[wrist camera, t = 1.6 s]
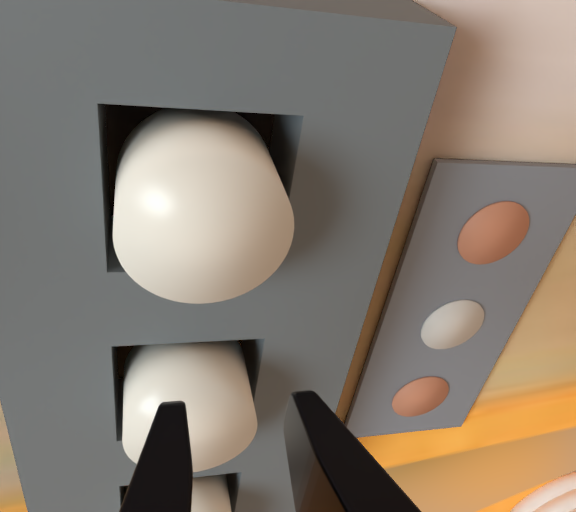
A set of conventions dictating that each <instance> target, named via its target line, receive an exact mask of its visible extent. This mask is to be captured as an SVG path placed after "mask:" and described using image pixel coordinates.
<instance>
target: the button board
mask: <svg viewBox="0 0 576 512" xmlns="http://www.w3.org/2000/svg"><path fill="white" fill-rule="evenodd" d="M456 28H457V27H456V26H454V25H452V24H451V23H449V22H447V21H446V20H444V19H442V18H441V17H439V16H437V15H436V14H434V13H432V12H431V11H429V10H427V9H426V8H424V7H422V6H421V5H419V4H417V3H416V2H414V1H412V0H0V401H1V405H2V409H3V413H4V417H5V421H6V425H7V429H8V433H9V437H10V441H11V445H12V449H13V454H14V458H15V462H16V466H17V470H18V474H19V478H20V482H21V486H22V490H23V494H24V498H25V502H26V506H27V510H28V512H119V510H120V508H121V505H122V502H123V500H124V497H125V494H126V492H127V489H128V486H126V485H129V484H130V481H131V478H132V476H133V473H134V470H135V468H136V465H137V464H136V463H135V462H133V461H132V460H131V459H130V458H129V457H128V456H127V454H126V453H125V451H124V448H123V443H122V432H123V386H124V379H119V377H118V356H117V346H131V345H151V344H170V343H189V342H208V341H227V340H242V347H241V348H242V351H243V355H244V359H245V364H246V369H247V374H248V379H249V383H250V388H251V393H252V398H253V403H254V407H255V412H256V417H257V431H256V434H255V436H254V438H253V440H252V441H251V443H250V444H249V445H248V447H247V448H246V449H245V450H244V451H242V452H241V453H240V454H239V455H237V456H236V457H234V458H233V459H231V460H229V461H228V462H225V463H223V464H221V465H219V466H216V467H214V468H210V469H207V470H203V471H199V472H193V478H194V477H203V476H211V475H220V474H226V477H227V484H228V491H229V498H230V505H231V512H296V511H295V505H294V499H293V492H292V485H291V479H290V472H289V465H288V459H287V452H286V445H285V439H284V430H283V424H284V418H285V413H286V409H287V405H288V400H289V397H290V394H291V393H292V392H295V391H306V390H312V391H314V392H316V393H317V394H318V395H319V396H320V397H321V399H322V400H323V401H324V402H325V403H326V404H327V405H328V407H329V408H330V409H331V410H332V411H333V412H334V413H335V412H336V409H337V406H338V403H339V400H340V396H341V393H342V390H343V387H344V384H345V381H346V377H347V374H348V371H349V368H350V365H351V362H352V358H353V355H354V352H355V349H356V346H357V342H358V339H359V336H360V333H361V330H362V327H363V323H364V320H365V317H366V314H367V311H368V308H369V304H370V301H371V298H372V295H373V292H374V289H375V285H376V282H377V279H378V276H379V273H380V270H381V266H382V263H383V260H384V257H385V254H386V250H387V247H388V244H389V241H390V238H391V235H392V231H393V228H394V225H395V222H396V219H397V216H398V212H399V209H400V206H401V203H402V200H403V197H404V193H405V190H406V187H407V184H408V181H409V177H410V174H411V171H412V168H413V165H414V162H415V158H416V155H417V152H418V149H419V146H420V143H421V139H422V136H423V133H424V130H425V127H426V124H427V120H428V117H429V114H430V111H431V108H432V105H433V101H434V98H435V95H436V92H437V89H438V85H439V82H440V79H441V76H442V73H443V70H444V66H445V63H446V60H447V57H448V54H449V51H450V47H451V44H452V41H453V38H454V35H455V32H456ZM105 104H114V105H131V106H148V107H165V108H182V109H199V110H215V111H232V112H249V113H266V114H274V120H273V127H272V135H271V142H270V149H269V154H270V156H271V158H272V161H273V163H274V165H275V168H276V170H277V173H278V175H279V177H280V180H281V182H282V184H283V187H284V189H285V192H286V194H287V196H288V199H289V201H290V204H291V207H292V210H293V215H294V234H293V239H292V243H291V246H290V249H289V251H288V253H287V255H286V257H285V259H284V260H283V262H282V263H281V265H280V266H279V267H278V269H277V270H276V271H275V272H274V273H273V274H272V275H271V276H270V277H269V278H268V279H267V280H265V281H264V282H263V283H262V284H260V285H259V286H257V287H256V288H254V289H252V290H250V291H249V292H247V293H245V294H242V295H240V296H237V297H235V298H232V299H228V300H225V301H220V302H214V303H204V304H191V303H182V302H177V301H172V300H168V299H165V298H162V297H159V296H157V295H155V294H153V293H151V292H149V291H148V290H146V289H144V288H143V287H141V286H140V285H139V284H138V283H136V282H135V281H134V280H133V279H132V278H131V277H130V276H129V275H128V274H127V273H126V271H125V270H124V268H123V267H122V265H121V264H120V262H119V260H118V257H117V255H116V252H115V249H114V244H113V216H111V212H110V191H109V171H108V150H107V130H106V109H105Z"/></svg>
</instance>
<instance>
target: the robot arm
mask: <svg viewBox="0 0 576 512" xmlns="http://www.w3.org/2000/svg"><path fill="white" fill-rule="evenodd" d="M283 430H284V439H285V445H286V452H287V459H288V465H289V472H290V479H291V485H292V492H293V499H294V505H295V511H296V512H421V511H420V510H419V509H418V507H416V505H415V504H414V503H413V502H412V501H411V499H410V498H409V497H408V496H407V495H406V494H405V493H404V491H403V490H402V489H401V488H400V487H399V486H398V485H397V484H396V483H395V481H394V480H393V479H392V478H391V477H390V476H389V474H387V472H386V471H385V470H384V469H383V468H382V467H381V465H380V464H379V463H378V462H377V461H376V460H375V459H374V457H373V456H372V455H371V454H370V453H369V452H368V451H367V450H366V448H365V447H364V446H363V445H362V444H361V443H360V442H359V441H358V439H357V438H356V437H355V436H354V435H353V434H352V433H351V431H350V430H349V429H348V428H347V427H346V426H345V425H344V424H343V422H342V421H341V420H340V419H339V418H338V417H337V416H336V414H335V413H334V412H333V411H332V410H331V409H330V408H329V407H328V405H327V404H326V403H325V402H324V401H323V400H322V399H321V397H320V396H319V395H318V394H317V393H316V392H314V391H312V390H306V391H295V392H292V393H291V394H290V397H289V400H288V405H287V409H286V413H285V418H284V424H283ZM192 488H193V465H192V454H191V446H190V437H189V428H188V420H187V411H186V405H185V402H183V401H168V402H162V403H161V404H160V405H159V406H158V409H157V411H156V414H155V417H154V419H153V422H152V425H151V427H150V430H149V433H148V436H147V438H146V441H145V444H144V446H143V449H142V452H141V454H140V457H139V460H138V462H137V465H136V468H135V470H134V473H133V476H132V478H131V481H130V484H129V486H128V489H127V492H126V494H125V497H124V500H123V502H122V505H121V508H120V510H119V512H191V506H192Z"/></svg>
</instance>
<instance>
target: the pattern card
mask: <svg viewBox="0 0 576 512" xmlns="http://www.w3.org/2000/svg"><path fill="white" fill-rule="evenodd" d="M575 215H576V164H555V163H530V162H506V161H481V160H456V159H434V160H433V163H432V166H431V169H430V172H429V175H428V178H427V181H426V184H425V187H424V190H423V193H422V196H421V199H420V202H419V205H418V207H417V210H416V213H415V216H414V219H413V222H412V225H411V228H410V231H409V234H408V237H407V240H406V243H405V246H404V249H403V252H402V255H401V258H400V261H399V264H398V267H397V270H396V273H395V276H394V279H393V282H392V285H391V288H390V291H389V294H388V296H387V299H386V302H385V305H384V308H383V311H382V314H381V317H380V320H379V323H378V326H377V329H376V332H375V335H374V338H373V341H372V344H371V347H370V350H369V353H368V356H367V359H366V362H365V365H364V368H363V371H362V374H361V377H360V380H359V383H358V385H357V388H356V391H355V394H354V397H353V400H352V403H351V406H350V409H349V412H348V415H347V418H346V421H345V424H344V425H345V426H346V427H347V428H348V429H349V430H350V431H351V433H352V434H353V435H354V436H355V437H356V438H357V437H366V436H376V435H385V434H395V433H404V432H413V431H423V430H432V429H442V428H451V427H460V426H462V424H463V422H464V420H465V418H466V416H467V415H468V413H469V411H470V409H471V407H472V405H473V403H474V402H475V400H476V398H477V396H478V394H479V392H480V390H481V389H482V387H483V385H484V383H485V381H486V379H487V378H488V376H489V374H490V372H491V370H492V368H493V366H494V365H495V363H496V361H497V359H498V357H499V355H500V353H501V352H502V350H503V348H504V346H505V344H506V342H507V341H508V339H509V337H510V335H511V333H512V331H513V329H514V328H515V326H516V324H517V322H518V320H519V318H520V316H521V315H522V313H523V311H524V309H525V307H526V305H527V303H528V302H529V300H530V298H531V296H532V294H533V292H534V291H535V289H536V287H537V285H538V283H539V281H540V279H541V278H542V276H543V274H544V272H545V270H546V268H547V266H548V265H549V263H550V261H551V259H552V257H553V255H554V254H555V252H556V250H557V248H558V246H559V244H560V242H561V241H562V239H563V237H564V235H565V233H566V231H567V229H568V228H569V226H570V224H571V222H572V220H573V218H574V216H575Z"/></svg>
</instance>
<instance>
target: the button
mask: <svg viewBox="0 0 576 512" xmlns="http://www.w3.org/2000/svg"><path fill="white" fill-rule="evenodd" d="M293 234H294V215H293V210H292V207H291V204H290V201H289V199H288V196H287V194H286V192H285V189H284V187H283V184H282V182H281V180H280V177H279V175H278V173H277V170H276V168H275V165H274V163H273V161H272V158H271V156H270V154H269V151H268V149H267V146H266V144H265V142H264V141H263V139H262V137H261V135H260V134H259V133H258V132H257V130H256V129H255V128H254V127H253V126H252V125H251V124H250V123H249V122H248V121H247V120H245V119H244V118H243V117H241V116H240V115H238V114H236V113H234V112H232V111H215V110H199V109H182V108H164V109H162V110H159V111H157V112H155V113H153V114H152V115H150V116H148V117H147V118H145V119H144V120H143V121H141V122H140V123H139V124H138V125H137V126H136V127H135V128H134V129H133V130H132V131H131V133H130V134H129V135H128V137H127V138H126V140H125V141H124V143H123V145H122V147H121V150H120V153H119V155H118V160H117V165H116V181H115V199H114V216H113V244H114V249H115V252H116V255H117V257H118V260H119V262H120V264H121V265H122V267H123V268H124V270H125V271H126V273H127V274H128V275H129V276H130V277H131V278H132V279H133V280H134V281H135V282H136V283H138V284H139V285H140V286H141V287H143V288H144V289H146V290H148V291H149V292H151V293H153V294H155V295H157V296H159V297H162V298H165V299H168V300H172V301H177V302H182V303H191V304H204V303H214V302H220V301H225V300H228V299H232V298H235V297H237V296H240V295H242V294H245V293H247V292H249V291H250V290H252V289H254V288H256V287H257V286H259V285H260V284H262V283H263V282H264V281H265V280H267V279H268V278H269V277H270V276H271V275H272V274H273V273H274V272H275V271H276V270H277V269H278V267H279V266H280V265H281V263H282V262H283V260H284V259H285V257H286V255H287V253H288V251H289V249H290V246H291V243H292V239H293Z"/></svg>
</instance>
